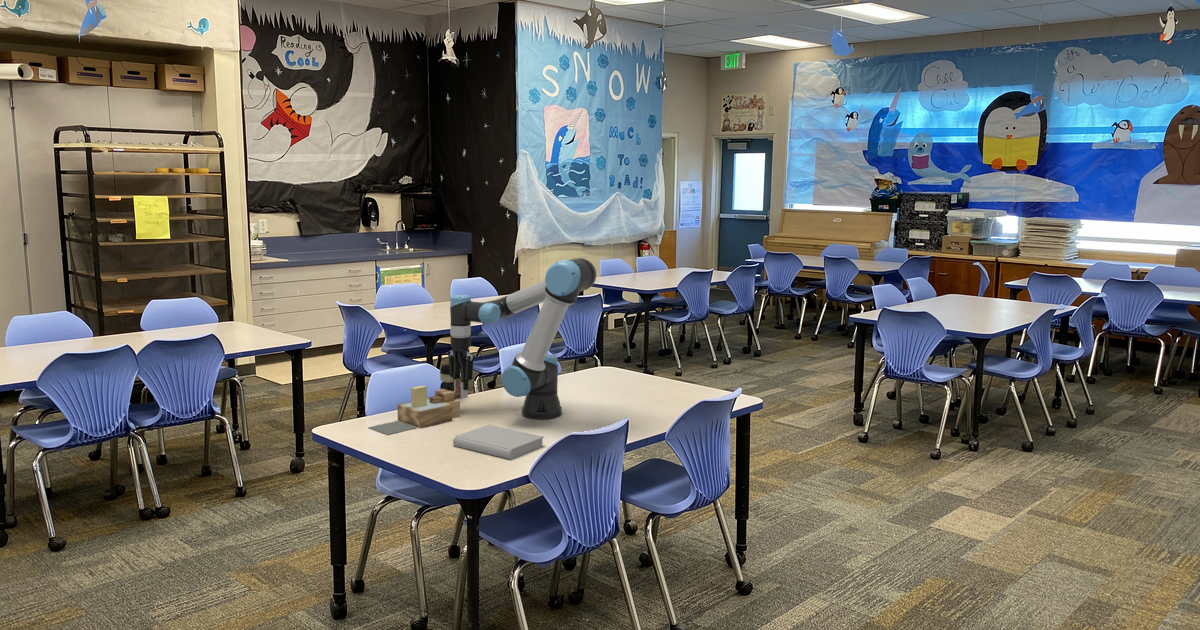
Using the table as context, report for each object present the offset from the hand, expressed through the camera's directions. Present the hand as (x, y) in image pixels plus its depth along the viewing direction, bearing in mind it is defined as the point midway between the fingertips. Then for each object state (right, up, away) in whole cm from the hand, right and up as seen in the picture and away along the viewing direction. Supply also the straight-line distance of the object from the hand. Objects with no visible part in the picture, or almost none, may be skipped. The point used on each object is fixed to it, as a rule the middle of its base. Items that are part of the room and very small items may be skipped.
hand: (461, 396), depth 325 cm
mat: (-21, -9, -21) cm, 31 cm away
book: (+19, -13, -40) cm, 46 cm away
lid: (-11, -3, -12) cm, 17 cm away
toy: (-7, -3, +18) cm, 20 cm away
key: (-4, -1, -4) cm, 6 cm away
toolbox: (-9, -7, -9) cm, 15 cm away
